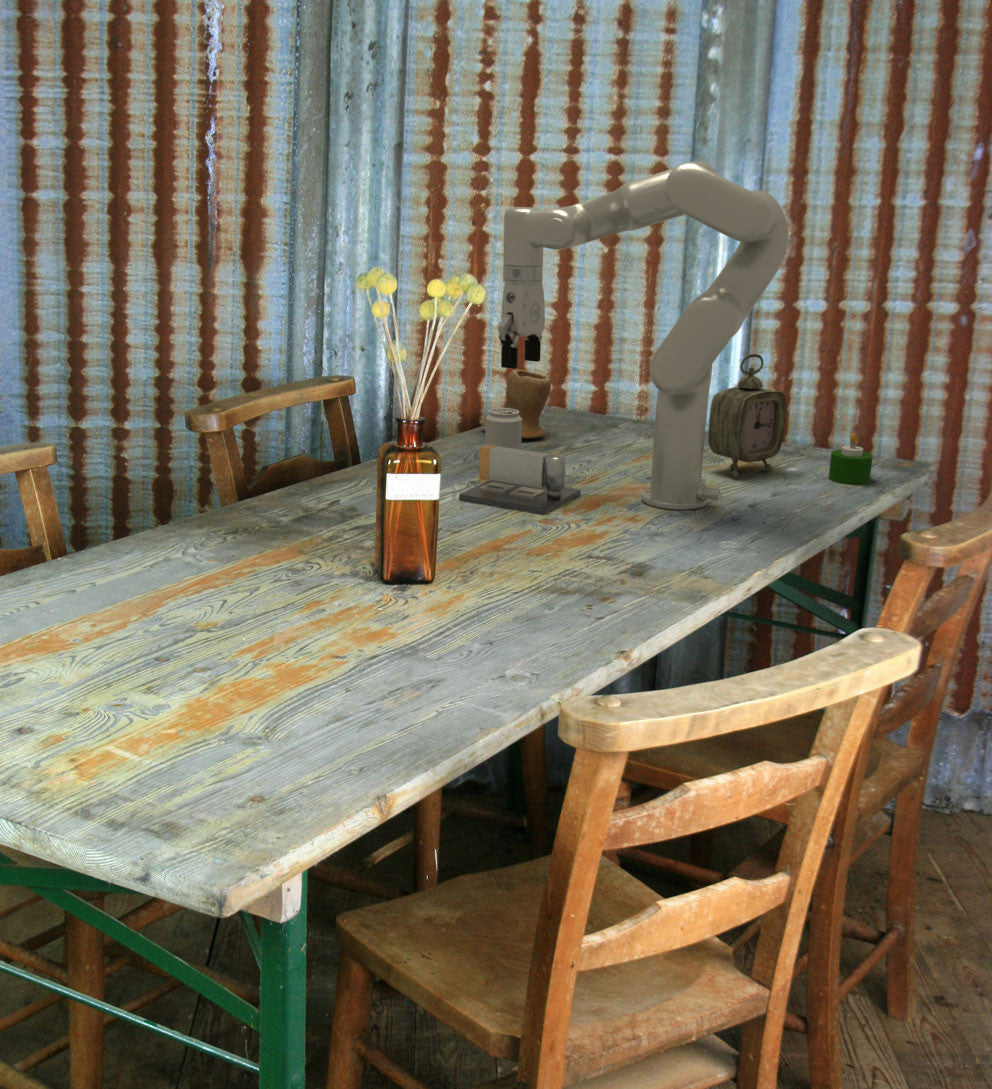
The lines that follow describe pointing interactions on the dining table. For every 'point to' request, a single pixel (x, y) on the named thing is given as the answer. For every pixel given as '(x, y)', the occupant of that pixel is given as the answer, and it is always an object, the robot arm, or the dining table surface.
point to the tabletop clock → (747, 421)
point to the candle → (850, 464)
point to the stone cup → (527, 400)
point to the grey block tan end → (522, 467)
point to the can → (503, 428)
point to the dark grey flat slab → (519, 496)
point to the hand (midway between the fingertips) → (521, 364)
